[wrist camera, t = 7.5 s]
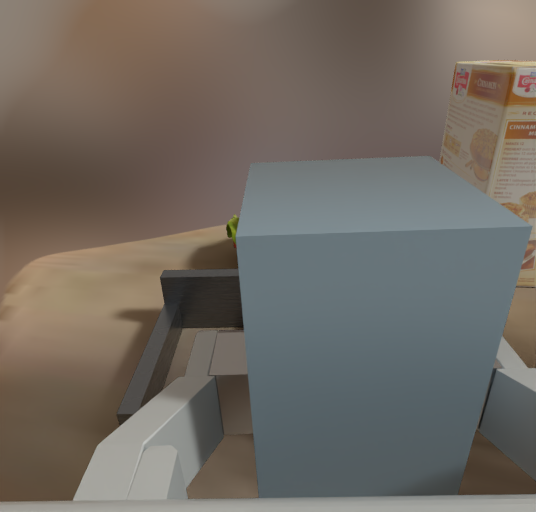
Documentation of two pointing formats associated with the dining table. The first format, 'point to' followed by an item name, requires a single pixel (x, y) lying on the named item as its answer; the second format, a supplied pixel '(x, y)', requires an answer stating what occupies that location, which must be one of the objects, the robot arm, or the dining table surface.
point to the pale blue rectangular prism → (370, 322)
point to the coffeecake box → (496, 139)
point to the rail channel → (182, 326)
